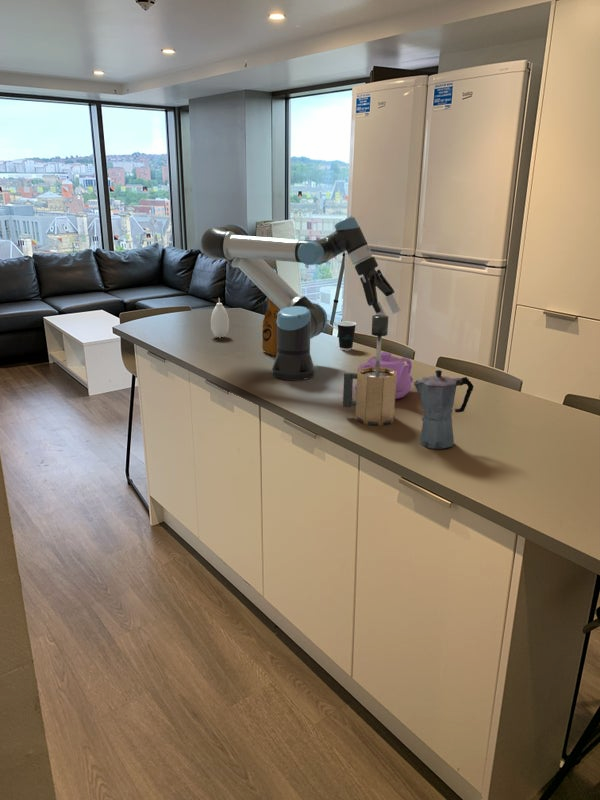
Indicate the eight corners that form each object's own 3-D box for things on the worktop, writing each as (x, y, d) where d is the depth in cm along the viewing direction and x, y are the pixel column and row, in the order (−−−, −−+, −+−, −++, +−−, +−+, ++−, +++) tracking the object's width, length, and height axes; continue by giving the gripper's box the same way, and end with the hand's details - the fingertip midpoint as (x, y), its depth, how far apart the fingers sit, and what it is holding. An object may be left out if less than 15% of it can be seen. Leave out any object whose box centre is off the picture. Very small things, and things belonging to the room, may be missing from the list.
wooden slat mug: (339, 422, 173) (341, 375, 168) (345, 409, 183) (347, 364, 178) (392, 427, 170) (395, 379, 165) (395, 413, 180) (398, 368, 175)
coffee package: (259, 351, 247) (258, 297, 239) (285, 347, 253) (285, 294, 246) (271, 356, 239) (270, 301, 232) (297, 352, 245) (298, 298, 238)
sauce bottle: (232, 337, 269) (231, 296, 263) (221, 340, 263) (220, 299, 257) (219, 334, 273) (217, 295, 267) (207, 338, 267) (206, 297, 261)
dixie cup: (346, 346, 256) (347, 320, 252) (359, 349, 250) (360, 323, 247) (332, 348, 251) (333, 322, 248) (345, 352, 246) (346, 326, 242)
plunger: (362, 381, 169) (364, 318, 163) (365, 373, 176) (368, 313, 170) (389, 383, 168) (393, 320, 162) (391, 375, 175) (395, 314, 169)
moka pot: (404, 436, 163) (409, 365, 156) (460, 435, 164) (467, 364, 158) (413, 451, 154) (419, 376, 148) (472, 449, 155) (480, 375, 149)
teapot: (378, 412, 181) (381, 367, 176) (341, 391, 199) (342, 350, 194) (436, 401, 191) (440, 359, 186) (395, 382, 209) (398, 343, 204)
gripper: (359, 261, 195) (387, 319, 198) (384, 251, 216) (410, 304, 218) (340, 271, 199) (368, 328, 202) (367, 260, 220) (393, 313, 222)
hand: (390, 316), depth 210 cm, fingers open, 13 cm apart
